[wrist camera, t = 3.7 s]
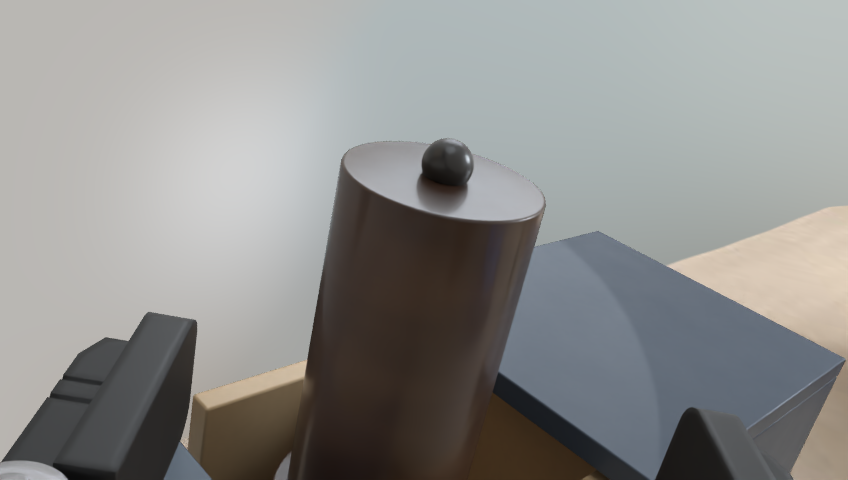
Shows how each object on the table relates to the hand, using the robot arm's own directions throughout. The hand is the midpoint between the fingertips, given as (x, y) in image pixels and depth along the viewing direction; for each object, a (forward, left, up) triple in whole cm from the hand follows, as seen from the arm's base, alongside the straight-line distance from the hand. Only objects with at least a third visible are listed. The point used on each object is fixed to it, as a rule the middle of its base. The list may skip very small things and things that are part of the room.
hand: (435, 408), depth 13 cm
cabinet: (+12, +12, -14) cm, 22 cm away
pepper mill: (+2, +7, -12) cm, 14 cm away
